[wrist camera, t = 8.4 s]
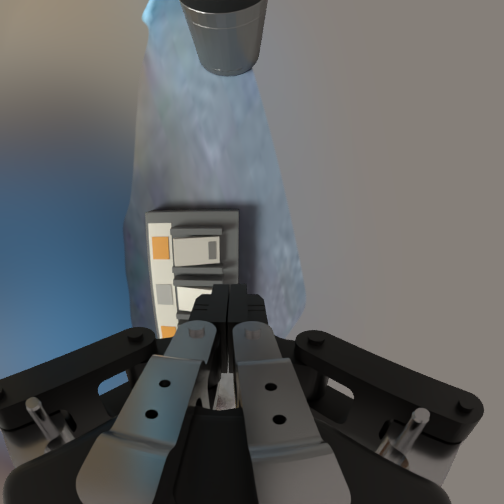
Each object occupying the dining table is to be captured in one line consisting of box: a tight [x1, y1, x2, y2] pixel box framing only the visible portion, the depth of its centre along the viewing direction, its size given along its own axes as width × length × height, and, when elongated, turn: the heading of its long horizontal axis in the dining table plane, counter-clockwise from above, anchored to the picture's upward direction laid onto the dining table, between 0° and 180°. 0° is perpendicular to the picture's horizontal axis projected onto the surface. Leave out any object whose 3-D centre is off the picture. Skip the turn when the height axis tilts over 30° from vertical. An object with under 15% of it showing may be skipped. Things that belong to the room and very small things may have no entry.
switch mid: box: [177, 286, 213, 311], centre depth 37 cm, size 4×6×1 cm, turn 89°
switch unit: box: [145, 209, 239, 362], centre depth 39 cm, size 24×13×5 cm, turn 179°
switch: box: [173, 235, 220, 266], centre depth 36 cm, size 4×6×1 cm, turn 89°
